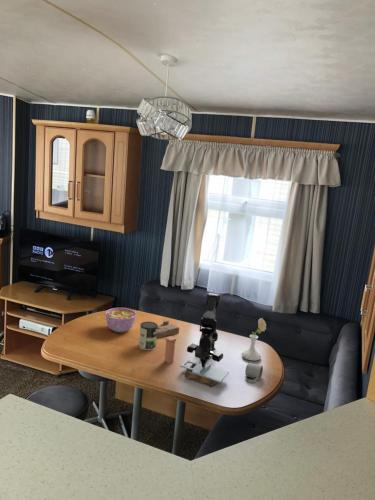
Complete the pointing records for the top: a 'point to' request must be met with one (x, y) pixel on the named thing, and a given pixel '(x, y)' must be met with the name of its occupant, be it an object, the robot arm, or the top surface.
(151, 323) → the coffee can
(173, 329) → the wooden block set
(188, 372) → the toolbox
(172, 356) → the salmon brown tall block
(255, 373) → the ceramic mug
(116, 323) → the bowl of food
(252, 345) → the flower in vase
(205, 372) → the lid
